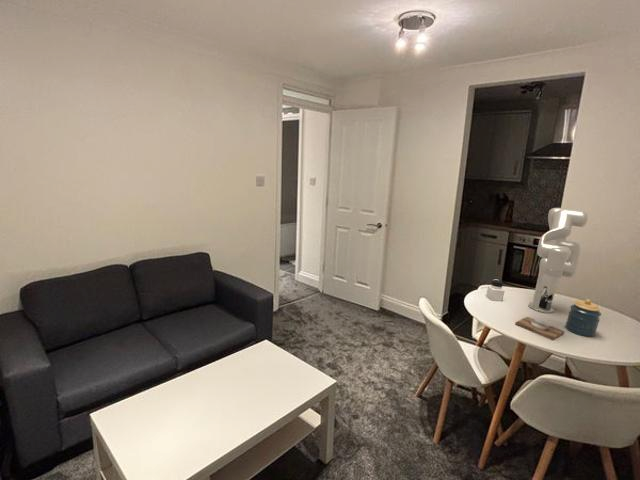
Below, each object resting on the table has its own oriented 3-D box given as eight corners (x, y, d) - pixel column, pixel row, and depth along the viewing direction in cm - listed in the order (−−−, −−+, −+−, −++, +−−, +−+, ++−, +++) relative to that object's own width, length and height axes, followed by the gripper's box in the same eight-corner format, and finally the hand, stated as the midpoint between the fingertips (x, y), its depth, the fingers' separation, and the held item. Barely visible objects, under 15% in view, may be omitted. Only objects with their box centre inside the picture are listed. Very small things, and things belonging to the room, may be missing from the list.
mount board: (526, 319, 192) (527, 314, 191) (563, 333, 178) (565, 328, 177) (515, 324, 184) (516, 319, 184) (553, 340, 171) (554, 334, 170)
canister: (597, 340, 175) (607, 307, 170) (566, 332, 181) (574, 300, 176) (592, 329, 186) (601, 298, 182) (563, 322, 192) (571, 292, 188)
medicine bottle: (502, 301, 215) (506, 283, 212) (490, 300, 215) (494, 282, 213) (497, 296, 222) (500, 278, 219) (485, 295, 222) (489, 278, 219)
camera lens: (541, 305, 182) (543, 296, 180) (552, 309, 178) (554, 300, 176) (536, 307, 179) (538, 298, 177) (547, 311, 175) (550, 301, 173)
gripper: (551, 268, 182) (543, 301, 186) (537, 272, 172) (529, 306, 176) (568, 272, 176) (559, 306, 180) (554, 277, 166) (545, 312, 170)
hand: (544, 306), depth 178 cm, fingers closed on camera lens, 5 cm apart
